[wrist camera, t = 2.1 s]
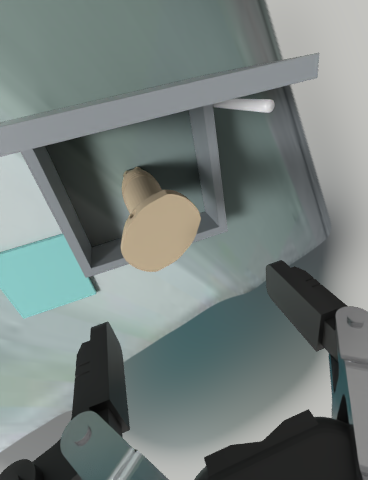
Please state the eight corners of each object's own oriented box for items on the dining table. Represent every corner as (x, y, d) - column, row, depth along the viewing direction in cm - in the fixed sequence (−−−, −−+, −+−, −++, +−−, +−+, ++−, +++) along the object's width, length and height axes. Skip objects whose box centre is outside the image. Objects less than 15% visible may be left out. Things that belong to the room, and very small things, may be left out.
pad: (-19, 258, 31) (-21, 260, 30) (66, 232, 32) (66, 234, 31) (24, 315, 36) (23, 318, 35) (96, 291, 37) (96, 293, 37)
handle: (102, 189, 31) (107, 253, 18) (134, 144, 29) (163, 180, 17) (136, 210, 33) (160, 280, 21) (166, 170, 32) (212, 218, 19)
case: (19, 117, 25) (-111, 152, 9) (200, 75, 28) (335, 48, 12) (87, 255, 34) (78, 394, 18) (218, 213, 37) (310, 302, 21)
